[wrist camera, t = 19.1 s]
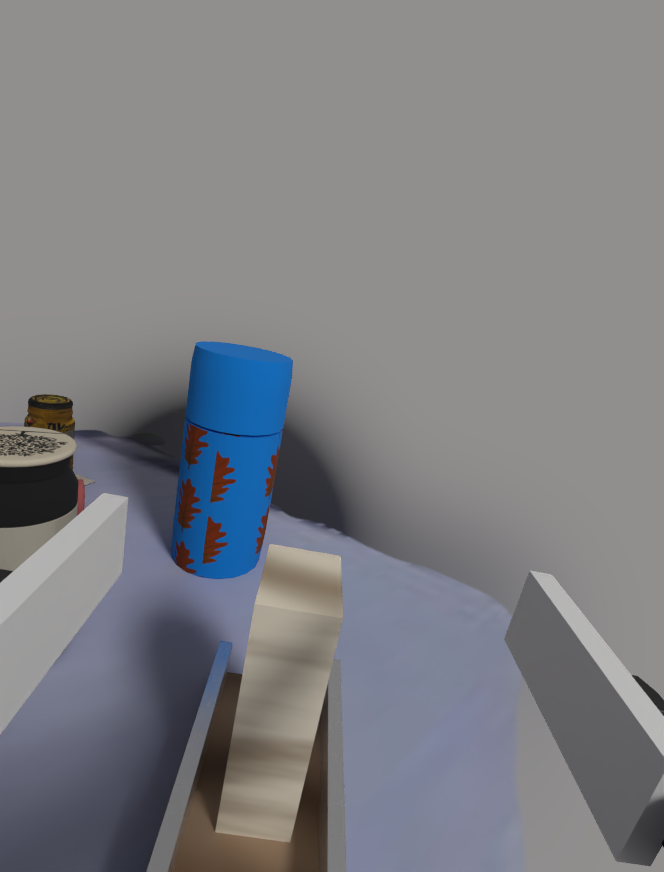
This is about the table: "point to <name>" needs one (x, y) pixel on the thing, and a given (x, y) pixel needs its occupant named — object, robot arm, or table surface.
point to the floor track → (203, 783)
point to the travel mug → (34, 490)
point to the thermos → (228, 457)
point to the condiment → (53, 418)
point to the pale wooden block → (281, 692)
